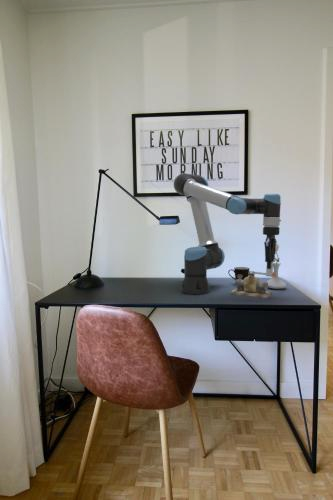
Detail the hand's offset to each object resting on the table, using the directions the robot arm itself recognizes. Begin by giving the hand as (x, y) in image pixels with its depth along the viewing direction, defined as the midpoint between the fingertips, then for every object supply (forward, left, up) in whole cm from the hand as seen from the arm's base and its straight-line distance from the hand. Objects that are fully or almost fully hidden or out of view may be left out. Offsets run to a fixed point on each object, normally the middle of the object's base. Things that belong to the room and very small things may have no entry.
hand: (269, 275), depth 158 cm
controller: (-52, +15, -11) cm, 55 cm away
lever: (-5, +2, -1) cm, 5 cm away
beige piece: (-10, +3, -11) cm, 15 cm away
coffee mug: (-23, +21, -11) cm, 33 cm away
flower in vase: (-3, +22, -11) cm, 25 cm away
